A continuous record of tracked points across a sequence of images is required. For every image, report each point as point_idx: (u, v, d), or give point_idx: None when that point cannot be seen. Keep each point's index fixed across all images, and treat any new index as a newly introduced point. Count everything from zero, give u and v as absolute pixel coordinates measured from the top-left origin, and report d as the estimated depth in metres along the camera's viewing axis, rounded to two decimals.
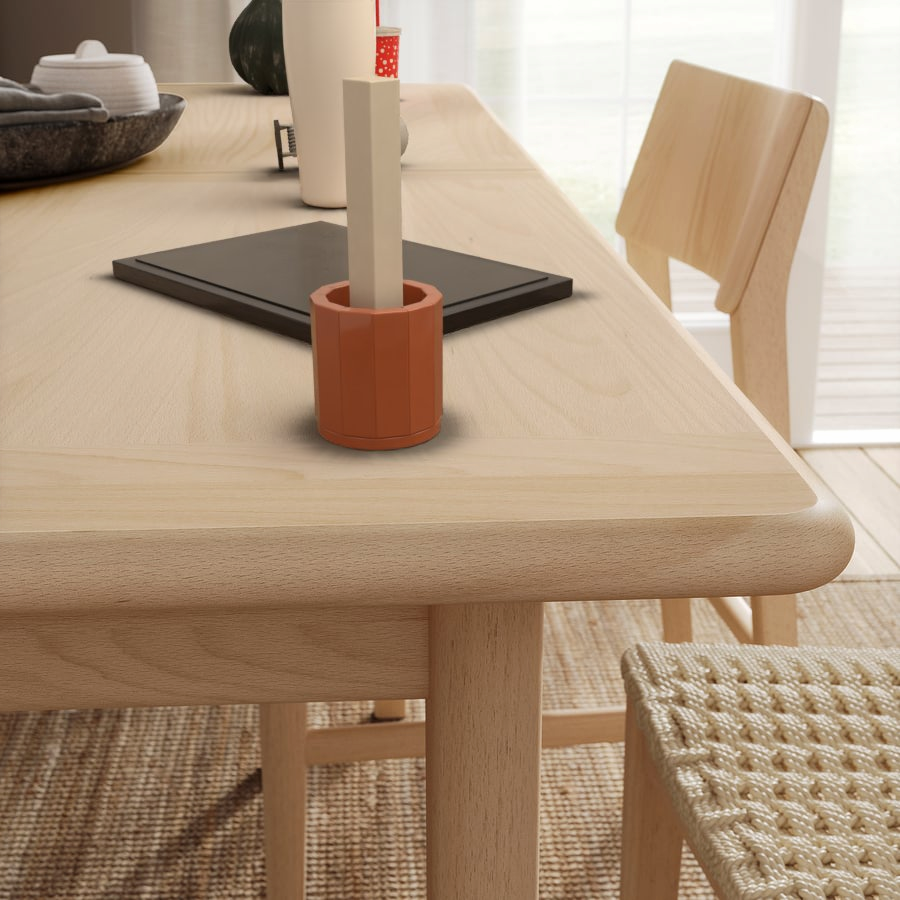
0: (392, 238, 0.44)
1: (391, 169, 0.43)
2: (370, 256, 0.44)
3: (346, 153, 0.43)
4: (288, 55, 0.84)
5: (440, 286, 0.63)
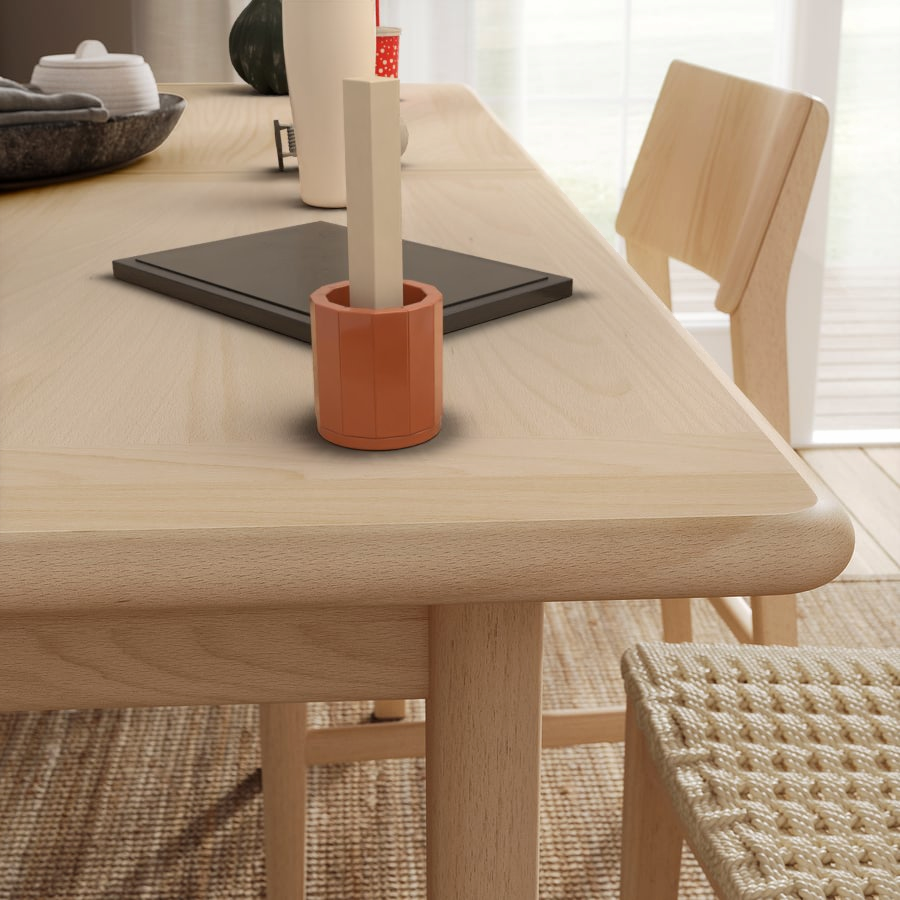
0: (392, 238, 0.44)
1: (391, 169, 0.43)
2: (370, 256, 0.44)
3: (346, 153, 0.43)
4: (288, 55, 0.84)
5: (440, 286, 0.63)
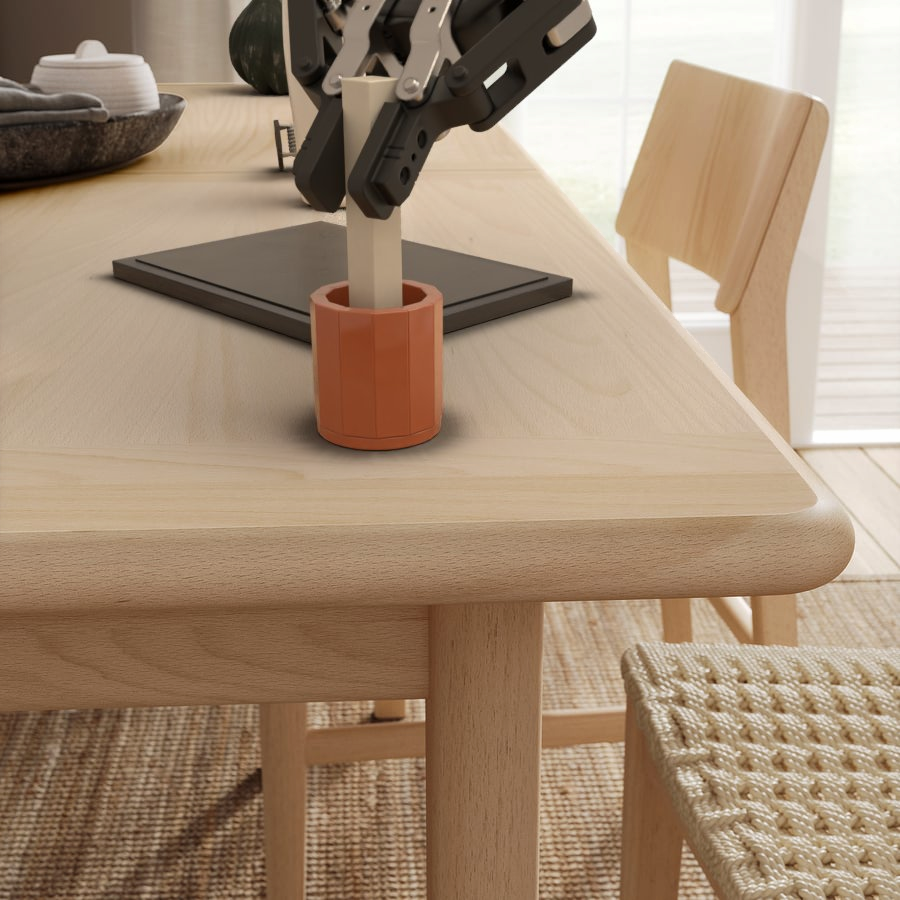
0: (391, 238, 0.44)
1: None
2: (369, 256, 0.44)
3: (345, 153, 0.43)
4: (288, 55, 0.84)
5: (440, 286, 0.63)
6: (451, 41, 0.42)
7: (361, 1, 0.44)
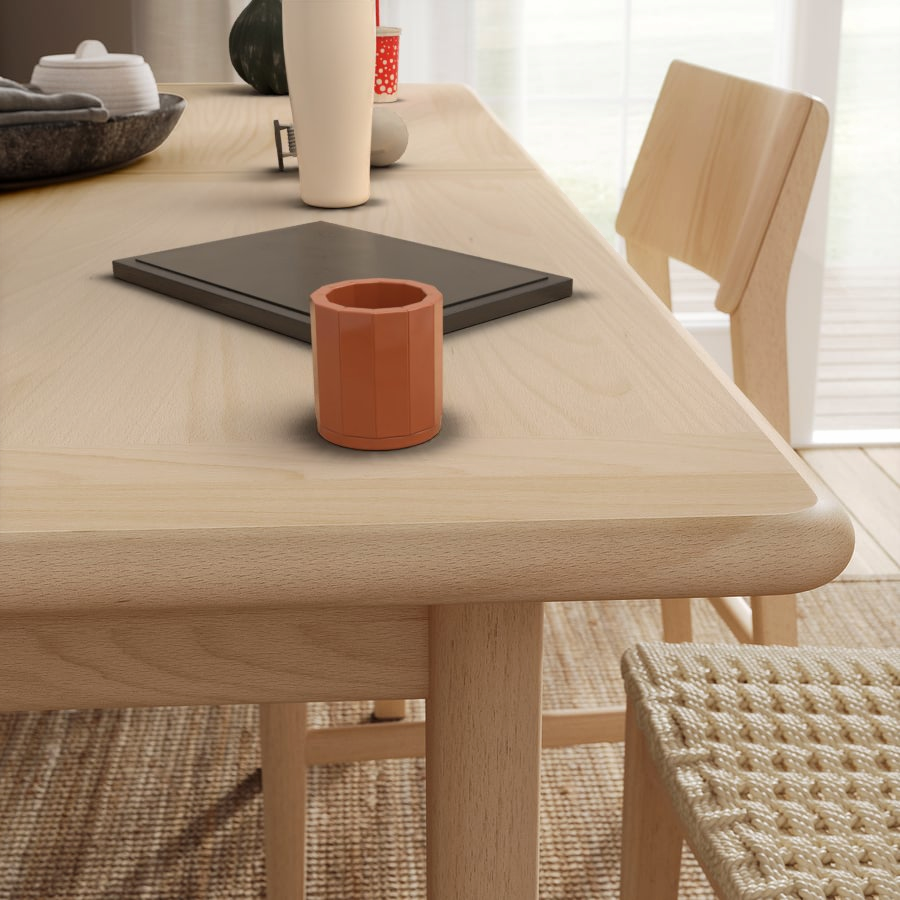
0: None
1: None
2: None
3: None
4: (288, 55, 0.84)
5: (440, 286, 0.63)
6: None
7: None
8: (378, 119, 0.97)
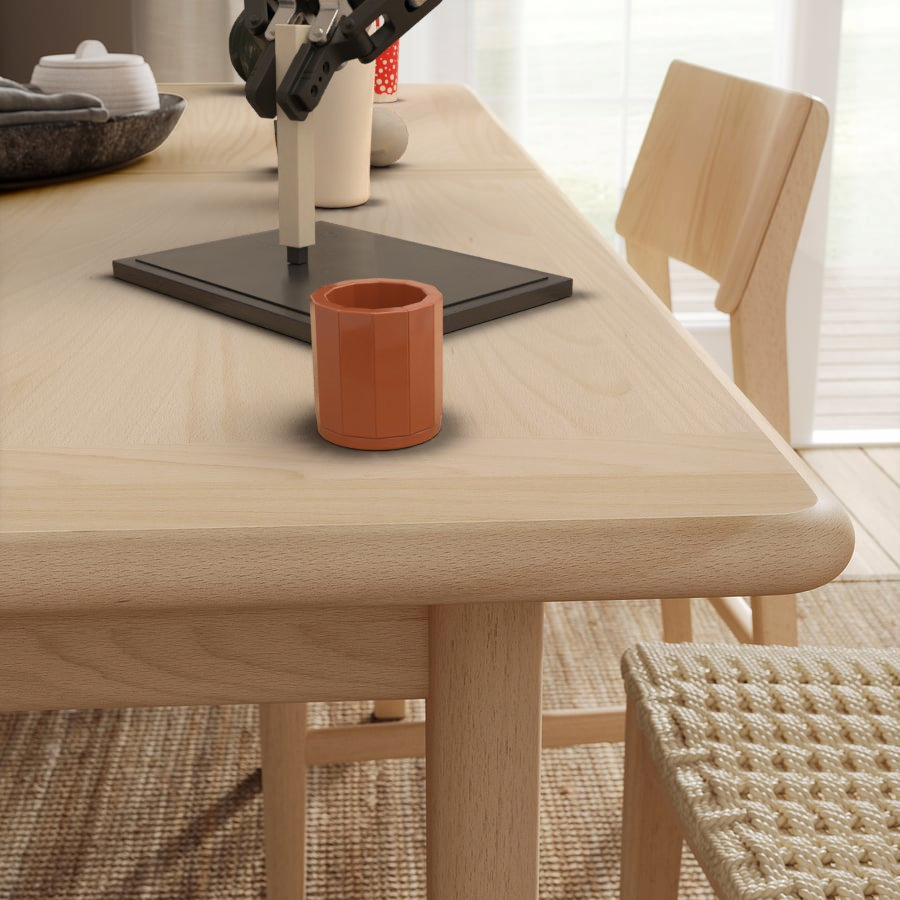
0: (308, 134, 0.65)
1: None
2: (295, 145, 0.65)
3: (277, 75, 0.64)
4: None
5: (440, 286, 0.63)
6: (347, 3, 0.64)
7: None
8: (378, 119, 0.97)
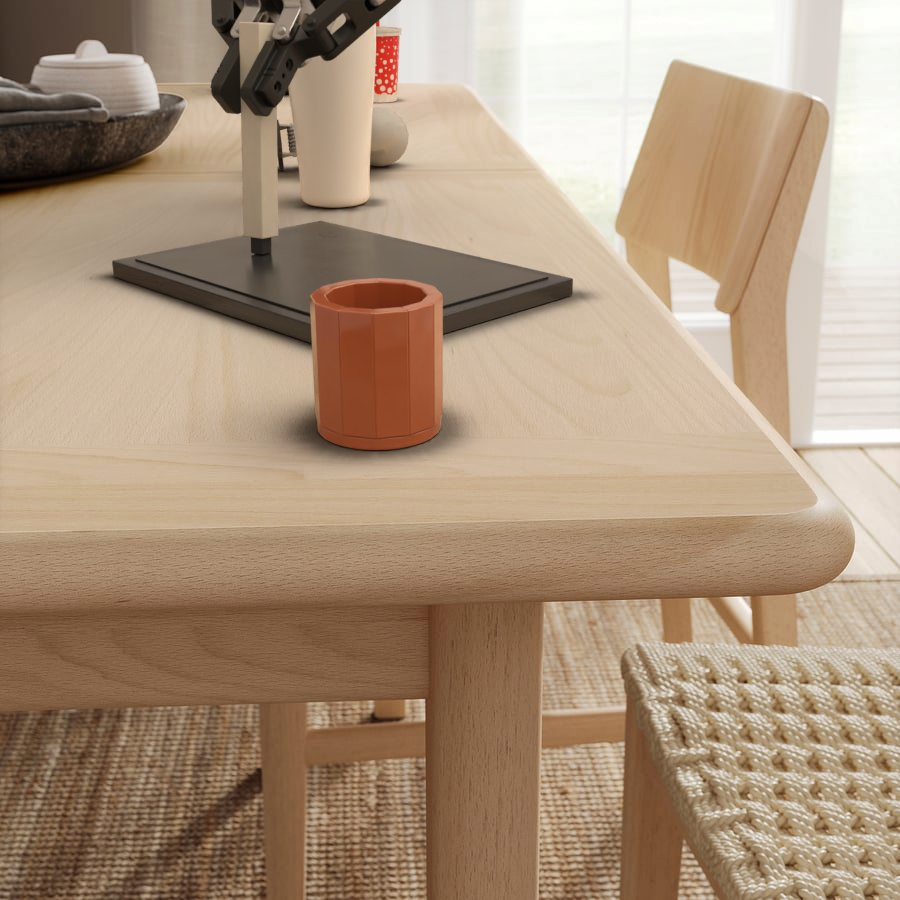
0: (271, 128, 0.68)
1: None
2: (258, 139, 0.67)
3: (241, 71, 0.66)
4: None
5: (440, 286, 0.63)
6: (309, 2, 0.66)
7: None
8: (378, 119, 0.97)
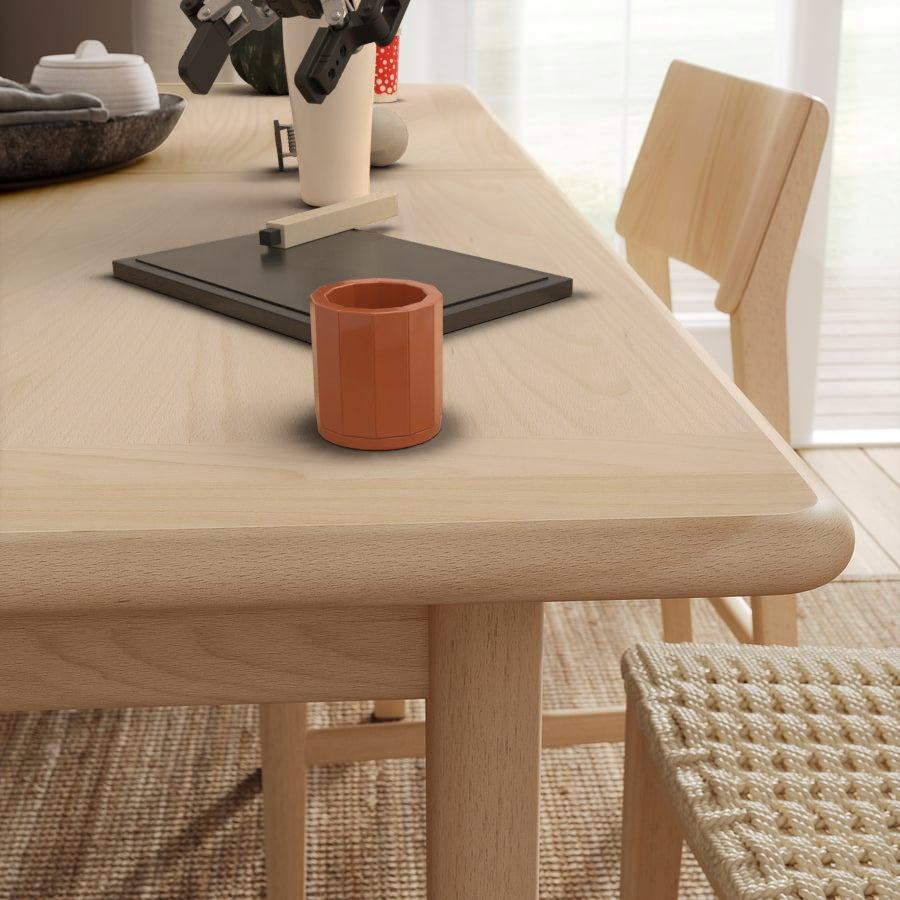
0: (347, 222, 0.76)
1: (371, 215, 0.78)
2: (339, 209, 0.75)
3: (358, 197, 0.79)
4: (288, 55, 0.84)
5: (440, 286, 0.63)
6: None
7: None
8: (378, 119, 0.97)
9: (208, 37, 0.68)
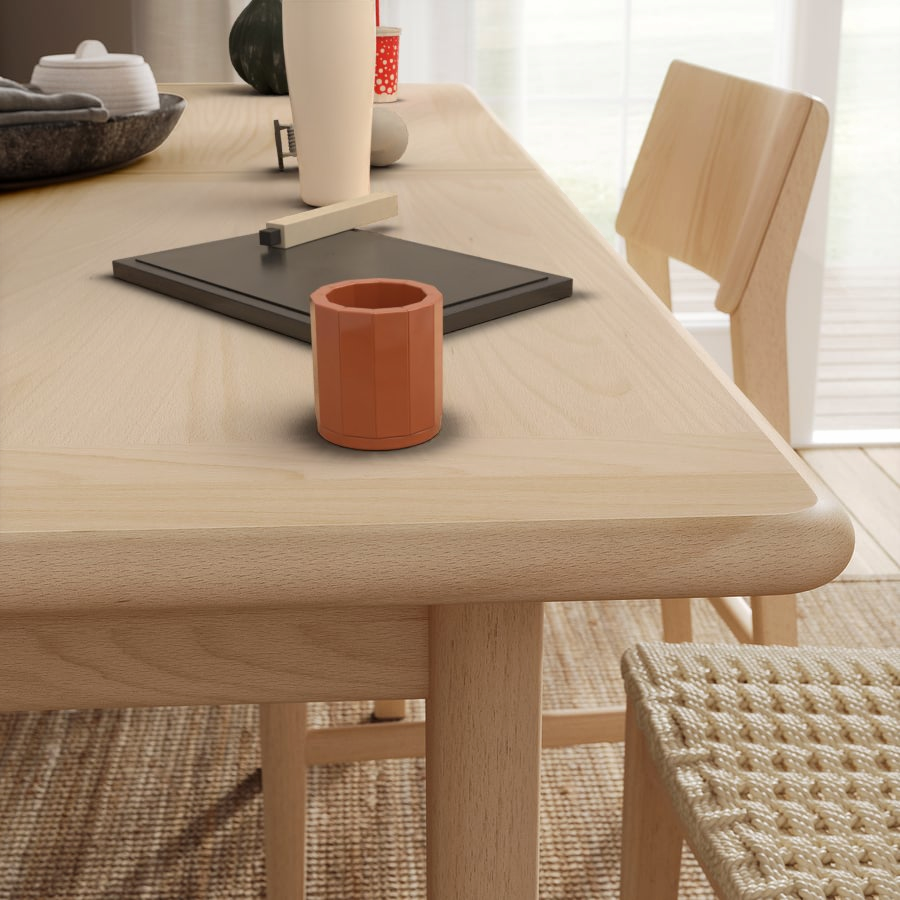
0: (347, 222, 0.76)
1: (371, 215, 0.78)
2: (339, 209, 0.75)
3: (358, 197, 0.79)
4: (288, 55, 0.84)
5: (440, 286, 0.63)
6: None
7: None
8: (378, 119, 0.97)
9: None
